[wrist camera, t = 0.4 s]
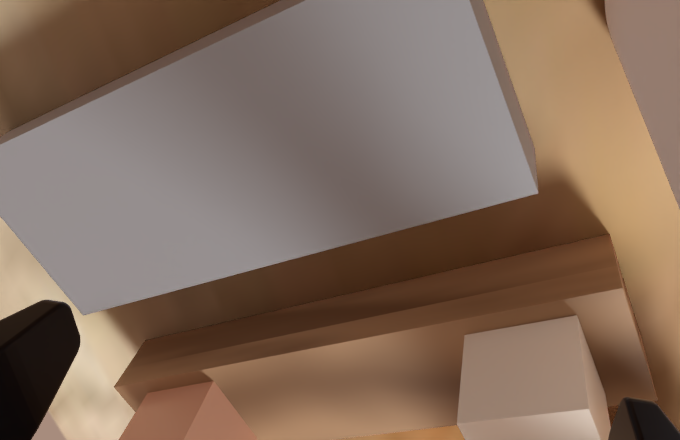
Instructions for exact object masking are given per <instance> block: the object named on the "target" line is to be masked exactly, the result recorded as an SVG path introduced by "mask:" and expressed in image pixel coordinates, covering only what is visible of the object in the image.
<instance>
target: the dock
mask: <svg viewBox="0 0 680 440" xmlns="http://www.w3.org/2000/svg"><path fill="white" fill-rule="evenodd" d="M534 194H538V182H537V170H536V157H535V148H534V145H533V142H532V139H531V137H530V134H529V131H528V128H527V125H526V122H525V119H524V116H523V114H522V111H521V108H520V105H519V102H518V99H517V96H516V93H515V91H514V88H513V85H512V82H511V79H510V76H509V73H508V70H507V68H506V65H505V62H504V59H503V56H502V53H501V50H500V47H499V45H498V42H497V39H496V36H495V33H494V30H493V27H492V24H491V22H490V19H489V16H488V13H487V10H486V7H485V4H484V1H483V0H280V1H278V2H276V3H274V4H272V5H270V6H268V7H266V8H264V9H261V10H259V11H257V12H255V13H253V14H251V15H249V16H247V17H245V18H243V19H241V20H239V21H237V22H235V23H232V24H230V25H228V26H226V27H224V28H222V29H220V30H218V31H216V32H214V33H212V34H210V35H208V36H206V37H203V38H201V39H199V40H197V41H195V42H193V43H191V44H189V45H187V46H185V47H183V48H181V49H179V50H176V51H174V52H172V53H170V54H168V55H166V56H164V57H162V58H160V59H158V60H156V61H154V62H152V63H150V64H147V65H145V66H143V67H141V68H139V69H137V70H135V71H133V72H131V73H129V74H127V75H125V76H123V77H121V78H118V79H116V80H114V81H112V82H110V83H108V84H106V85H104V86H102V87H100V88H98V89H96V90H94V91H91V92H89V93H87V94H85V95H83V96H81V97H79V98H77V99H75V100H73V101H71V102H69V103H67V104H65V105H62V106H60V107H58V108H56V109H54V110H52V111H50V112H48V113H46V114H44V115H42V116H40V117H38V118H36V119H33V120H31V121H29V122H27V123H25V124H23V125H21V126H19V127H17V128H15V129H13V130H11V131H9V132H7V133H5V134H4V135H2V136H1V137H0V217H1V218H2V219H3V220H4V221H5V223H6V224H7V225H8V226H9V227H10V228H11V230H12V231H13V232H14V233H15V234H16V236H17V237H18V238H19V239H20V240H21V242H22V243H23V244H24V245H25V246H26V248H27V249H28V250H29V251H30V252H31V254H32V255H33V256H34V257H35V258H36V260H37V261H38V262H39V263H40V264H41V266H42V267H43V268H44V269H45V270H46V272H47V273H48V274H49V275H50V276H51V277H52V279H53V280H54V281H55V282H56V283H57V285H58V286H59V287H60V288H61V289H62V291H63V292H64V293H65V294H66V295H67V297H68V298H69V299H70V300H71V301H72V303H73V304H74V305H75V306H76V307H77V309H78V310H79V311H80V312H81V313H82V315H87V314H90V313H94V312H98V311H102V310H105V309H109V308H113V307H117V306H120V305H124V304H128V303H131V302H135V301H139V300H143V299H146V298H150V297H154V296H158V295H161V294H165V293H169V292H172V291H176V290H180V289H184V288H187V287H191V286H195V285H199V284H202V283H206V282H210V281H213V280H217V279H221V278H225V277H228V276H232V275H236V274H240V273H243V272H247V271H251V270H254V269H258V268H262V267H266V266H269V265H273V264H277V263H281V262H284V261H288V260H292V259H295V258H299V257H303V256H307V255H310V254H314V253H318V252H322V251H325V250H329V249H333V248H337V247H340V246H344V245H348V244H351V243H355V242H359V241H363V240H366V239H370V238H374V237H378V236H381V235H385V234H389V233H392V232H396V231H400V230H404V229H407V228H411V227H415V226H419V225H422V224H426V223H430V222H433V221H437V220H441V219H445V218H448V217H452V216H456V215H460V214H463V213H467V212H471V211H474V210H478V209H482V208H486V207H489V206H493V205H497V204H501V203H504V202H508V201H512V200H515V199H519V198H523V197H527V196H530V195H534Z"/></svg>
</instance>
